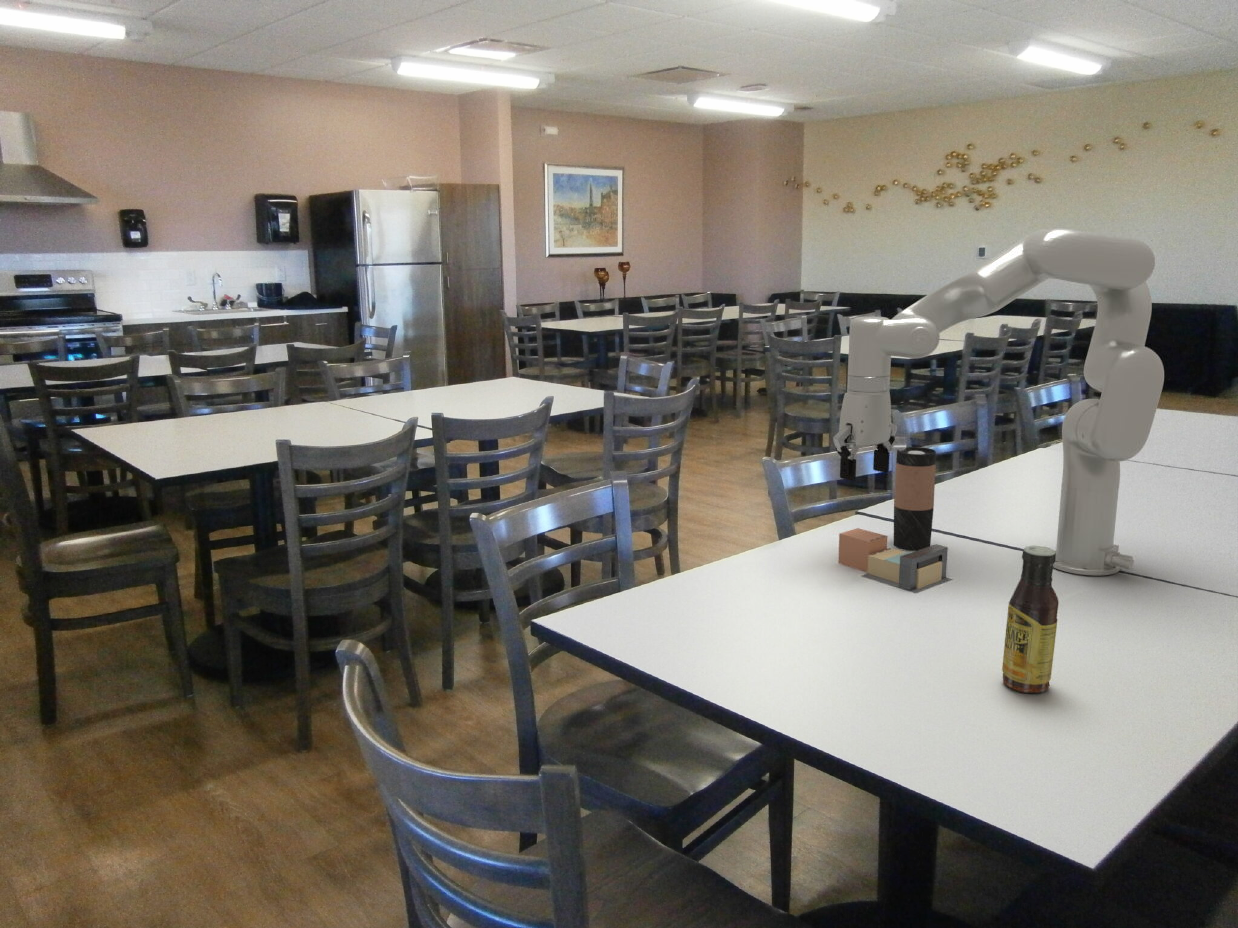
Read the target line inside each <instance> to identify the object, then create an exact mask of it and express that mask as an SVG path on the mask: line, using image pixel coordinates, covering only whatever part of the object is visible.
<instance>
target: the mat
mask: <svg viewBox="0 0 1238 928" xmlns="http://www.w3.org/2000/svg"><path fill="white" fill-rule="evenodd" d="M861 577H862V578H866V579H868V580H872V581H875V582H878V583H882V584H884V585H887V586H891V587H895V588H897V589H901V590H902V591H903V590H904V591H907V592H910V593H913V594H918V593H920V592H924V591H926V590H929V589H932V588H934V587H937V586H939V585H942V584H945V583H948V582H949V581H953V578H950V577H947V576H946V578H943V579H941V581H938V582H935V583H933V584H930V585H927V586H925V587H922V588H919V589H914V590H912V591H908V590H905V589H902V588H899V583H897V582H894V581H890V580H887V579H884V578H881V577H877V576H874V575H871V574H868V572H866V573H865V574H862V575H861Z"/></svg>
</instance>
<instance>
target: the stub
mask: <svg viewBox="0 0 1238 928" xmlns="http://www.w3.org/2000/svg"><path fill="white" fill-rule="evenodd" d="M888 538H889V536H888V535H886V534H885V535H884V534H880V533H878V532H874V531H871V530H866V529H862V528H860V527H857V528H854V529H850V530H847V531H843V532H840V533H838V564H840V565H844V566H846V567H850V568H852V569H853V568H854V569H855V570H856V569H857V570H860V571H863V572H866V573H868V555H871V554H873V553H878V552H880V551H884V550H886V549H888Z"/></svg>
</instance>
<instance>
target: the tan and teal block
mask: <svg viewBox="0 0 1238 928" xmlns="http://www.w3.org/2000/svg"><path fill="white" fill-rule="evenodd" d="M909 553H911V551H906V550H902V549H898V548H897V549H896V548H894V547H890V548H887V549H886V550H884V551H880V552H878V553H873V554H871V555H868V572H867V573H868V574H871V575H874V576H877V577H881V578H884V579H887V580H890V581H894V582H897V583H899V568H900V556H903V555H906V554H909ZM941 577H942V562H941V561H938V562H936V563H934V564H931V565H928V566H925V567H922V568H920V569H917V570H916V589H919V588H922V587H925V586H927V585H930V584H933V583H935V582H938V581H941Z"/></svg>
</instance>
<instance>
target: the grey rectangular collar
mask: <svg viewBox="0 0 1238 928" xmlns="http://www.w3.org/2000/svg"><path fill="white" fill-rule="evenodd" d="M948 549H949V547H948V546H945V545H941V544H933V545H930V547H927V548H924V549H921V550H918V551H911V552H910V553H909V554H906V555H903V556H900V568H899V588H898V589H900V588H902V589H901V590H903V589H905V590H904V591H907V590H908V591H907V592H910V591H912V590H914V589H916V570H917V569H920V568H922V567H925V566H928V565H931V564H934V563H936V562H938V561H941V562H942V577H941V579H943V578H946V577H947V567H948Z"/></svg>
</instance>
